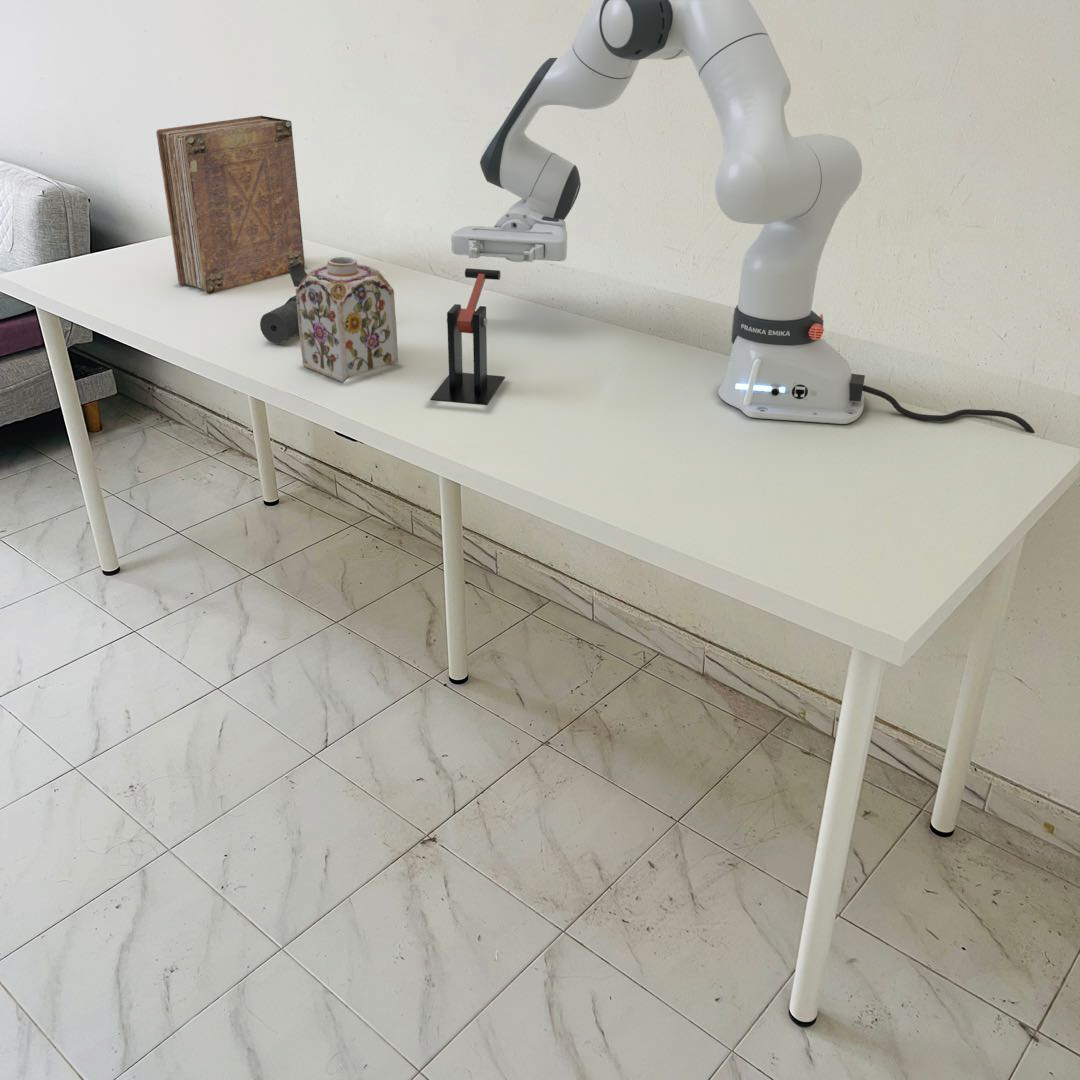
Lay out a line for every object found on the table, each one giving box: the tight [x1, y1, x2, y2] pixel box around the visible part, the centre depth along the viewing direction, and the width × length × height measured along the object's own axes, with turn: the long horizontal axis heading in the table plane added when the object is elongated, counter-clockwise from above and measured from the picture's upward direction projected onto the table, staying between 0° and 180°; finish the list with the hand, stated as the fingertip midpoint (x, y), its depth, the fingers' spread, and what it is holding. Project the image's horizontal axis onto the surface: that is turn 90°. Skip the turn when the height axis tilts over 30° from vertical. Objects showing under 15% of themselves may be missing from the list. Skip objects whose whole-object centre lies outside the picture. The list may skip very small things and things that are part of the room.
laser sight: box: [259, 262, 308, 345], centre depth 198 cm, size 10×22×10 cm, turn 158°
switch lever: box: [457, 267, 502, 334], centre depth 170 cm, size 13×6×2 cm, turn 168°
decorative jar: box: [295, 256, 399, 383], centre depth 178 cm, size 12×12×18 cm
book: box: [155, 115, 306, 295], centre depth 220 cm, size 25×9×30 cm, turn 141°
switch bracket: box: [429, 303, 506, 406], centre depth 169 cm, size 12×9×14 cm
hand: (500, 255), depth 183 cm, fingers open, 8 cm apart
